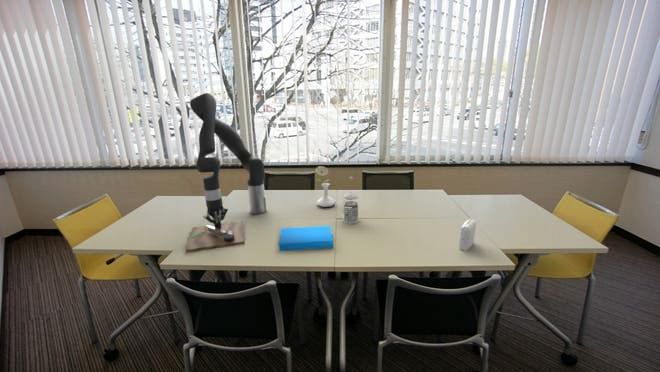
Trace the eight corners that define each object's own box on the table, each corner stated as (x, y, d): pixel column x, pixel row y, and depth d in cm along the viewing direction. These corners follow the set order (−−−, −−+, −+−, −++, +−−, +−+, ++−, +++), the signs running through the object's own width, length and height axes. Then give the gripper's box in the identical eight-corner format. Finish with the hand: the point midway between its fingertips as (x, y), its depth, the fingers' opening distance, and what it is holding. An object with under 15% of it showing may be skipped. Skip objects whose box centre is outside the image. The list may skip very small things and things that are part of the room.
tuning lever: (236, 238, 149) (236, 232, 148) (228, 242, 145) (227, 236, 144) (211, 228, 160) (210, 222, 160) (203, 231, 157) (202, 226, 156)
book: (280, 228, 155) (329, 224, 157) (281, 236, 157) (330, 232, 159) (278, 244, 139) (333, 240, 141) (279, 253, 140) (333, 248, 142)
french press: (363, 219, 172) (364, 176, 164) (350, 226, 164) (350, 181, 156) (349, 214, 179) (349, 173, 171) (336, 221, 171) (335, 177, 163)
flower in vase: (338, 203, 195) (338, 165, 188) (328, 209, 186) (328, 169, 179) (321, 200, 202) (320, 163, 194) (311, 205, 193) (309, 167, 185)
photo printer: (467, 251, 137) (470, 226, 133) (457, 248, 139) (460, 223, 136) (474, 243, 144) (478, 218, 140) (465, 240, 147) (468, 216, 143)
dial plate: (243, 223, 170) (243, 220, 170) (244, 244, 147) (244, 240, 147) (193, 229, 164) (192, 226, 163) (186, 252, 141) (185, 249, 140)
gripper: (220, 192, 159) (224, 222, 164) (196, 199, 148) (202, 232, 154) (229, 194, 154) (233, 226, 160) (206, 202, 144) (211, 236, 150)
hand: (218, 229), depth 157 cm, fingers closed
